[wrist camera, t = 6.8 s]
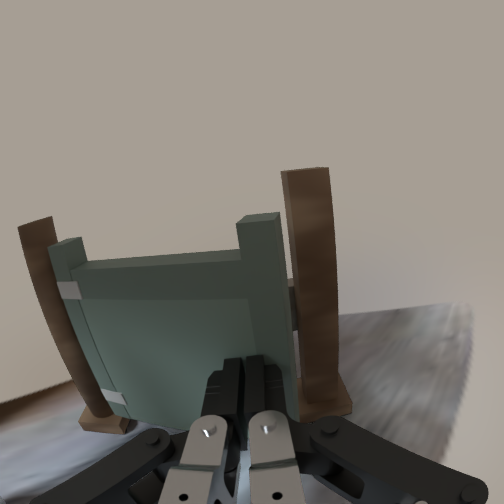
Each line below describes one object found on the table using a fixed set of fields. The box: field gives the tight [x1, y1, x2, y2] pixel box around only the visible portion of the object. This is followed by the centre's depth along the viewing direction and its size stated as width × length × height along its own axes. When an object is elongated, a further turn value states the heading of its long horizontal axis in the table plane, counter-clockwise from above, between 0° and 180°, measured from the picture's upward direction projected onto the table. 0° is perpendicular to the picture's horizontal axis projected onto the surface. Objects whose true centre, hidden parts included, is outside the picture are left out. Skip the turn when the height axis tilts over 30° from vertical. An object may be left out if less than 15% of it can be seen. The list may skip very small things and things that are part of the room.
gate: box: [47, 212, 300, 438], centre depth 14 cm, size 12×2×12 cm, turn 78°
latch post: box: [281, 167, 352, 423], centre depth 17 cm, size 4×4×15 cm
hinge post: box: [18, 216, 130, 434], centre depth 16 cm, size 4×4×15 cm
